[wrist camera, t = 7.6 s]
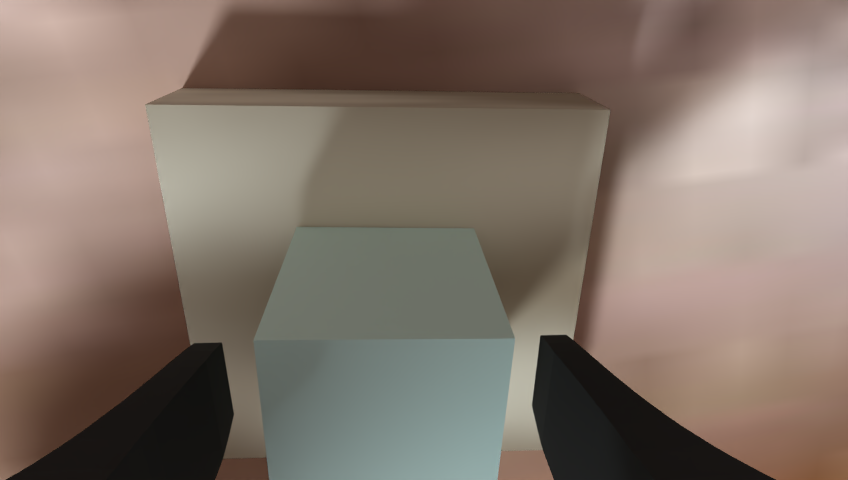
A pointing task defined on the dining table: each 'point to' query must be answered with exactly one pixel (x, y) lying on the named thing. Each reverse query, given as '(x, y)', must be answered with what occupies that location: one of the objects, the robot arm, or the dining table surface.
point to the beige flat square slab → (375, 205)
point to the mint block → (384, 357)
